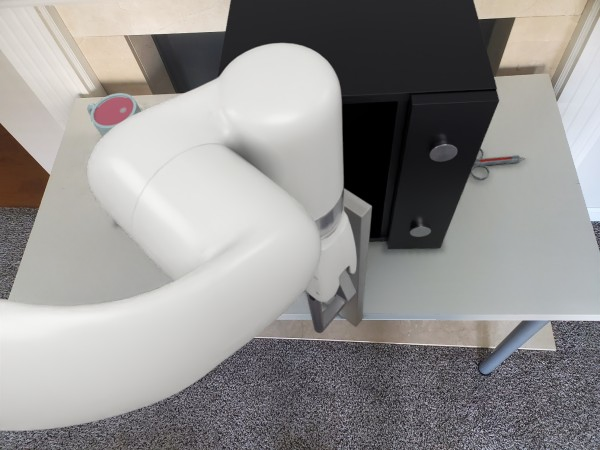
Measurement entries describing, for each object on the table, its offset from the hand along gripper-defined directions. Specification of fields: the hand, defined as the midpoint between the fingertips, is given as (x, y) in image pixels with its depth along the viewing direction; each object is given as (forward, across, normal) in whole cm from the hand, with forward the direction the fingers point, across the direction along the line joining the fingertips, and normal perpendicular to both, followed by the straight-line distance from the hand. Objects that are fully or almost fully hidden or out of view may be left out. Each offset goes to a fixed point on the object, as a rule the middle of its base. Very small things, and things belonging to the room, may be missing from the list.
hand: (313, 283), depth 51 cm
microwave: (+23, -17, +25) cm, 38 cm away
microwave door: (+23, -8, +2) cm, 24 cm away
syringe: (+24, -1, +45) cm, 51 cm away
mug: (+23, -61, +1) cm, 65 cm away
